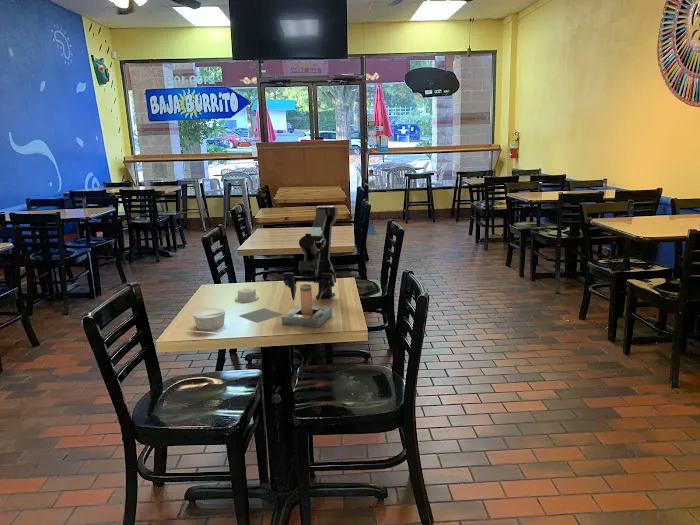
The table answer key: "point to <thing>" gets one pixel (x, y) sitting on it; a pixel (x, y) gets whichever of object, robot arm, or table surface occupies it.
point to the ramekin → (209, 318)
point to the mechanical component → (246, 295)
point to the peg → (306, 299)
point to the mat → (260, 315)
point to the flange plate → (307, 321)
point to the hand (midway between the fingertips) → (305, 299)
